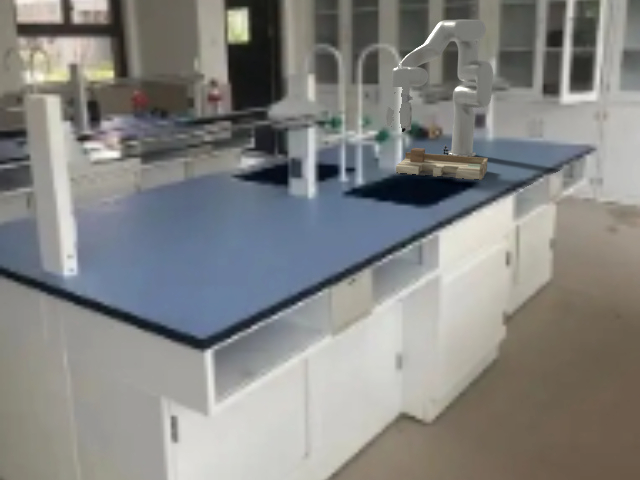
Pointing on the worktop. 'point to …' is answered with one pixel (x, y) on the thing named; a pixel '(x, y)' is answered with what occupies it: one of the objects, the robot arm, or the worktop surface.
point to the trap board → (445, 166)
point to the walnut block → (417, 155)
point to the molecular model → (452, 153)
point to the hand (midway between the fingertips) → (397, 143)
